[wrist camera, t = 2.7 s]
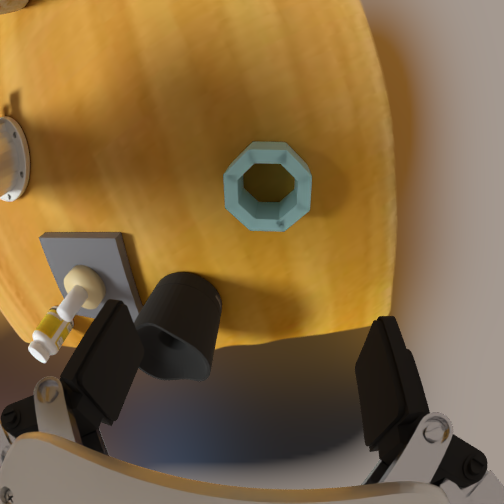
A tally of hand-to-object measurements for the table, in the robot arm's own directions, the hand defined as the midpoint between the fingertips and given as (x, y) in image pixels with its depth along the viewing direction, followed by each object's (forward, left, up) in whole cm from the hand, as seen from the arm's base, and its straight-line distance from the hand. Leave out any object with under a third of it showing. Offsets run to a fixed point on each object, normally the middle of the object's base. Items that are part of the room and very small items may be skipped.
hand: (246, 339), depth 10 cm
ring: (0, 0, -19) cm, 19 cm away
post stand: (+13, -24, -19) cm, 33 cm away
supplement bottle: (+23, -36, -19) cm, 46 cm away
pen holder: (+15, -10, -19) cm, 26 cm away
